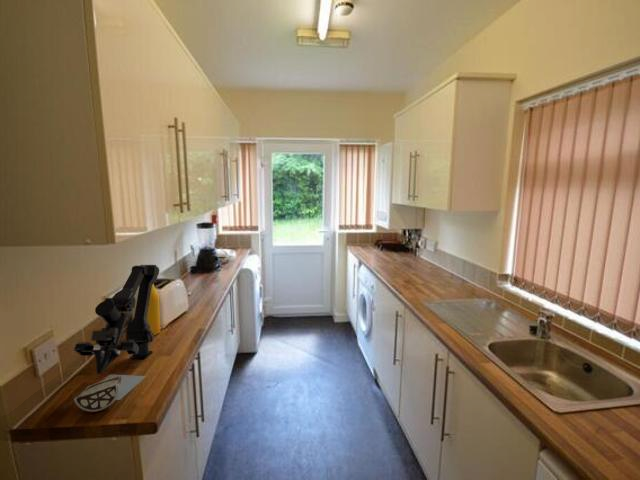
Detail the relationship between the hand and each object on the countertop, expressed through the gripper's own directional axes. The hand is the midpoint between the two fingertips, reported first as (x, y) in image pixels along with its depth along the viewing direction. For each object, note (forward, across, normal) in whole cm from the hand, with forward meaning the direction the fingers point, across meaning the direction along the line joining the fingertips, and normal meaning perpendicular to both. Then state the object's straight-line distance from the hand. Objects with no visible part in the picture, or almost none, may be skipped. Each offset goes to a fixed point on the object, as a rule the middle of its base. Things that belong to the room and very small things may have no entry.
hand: (98, 374), depth 109 cm
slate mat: (+1, +1, +11) cm, 11 cm away
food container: (+3, +1, +6) cm, 7 cm away
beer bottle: (-33, -6, +46) cm, 57 cm away
